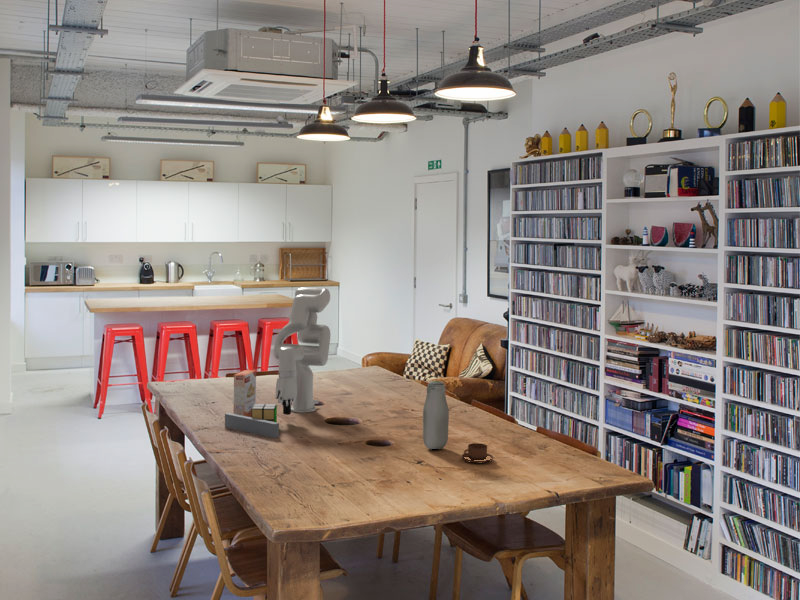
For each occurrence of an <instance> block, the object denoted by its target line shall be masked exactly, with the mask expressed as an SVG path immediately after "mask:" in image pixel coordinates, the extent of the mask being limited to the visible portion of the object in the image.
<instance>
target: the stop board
mask: <svg viewBox="0 0 800 600" xmlns="http://www.w3.org/2000/svg"><path fill="white" fill-rule="evenodd" d="M224 428H227V429H231V430H236V431H241V432H244V433H245V432H246V433H249V434H254V435H260V436H263V437H268V438H273V439H277V438H280V423H279V422H277V423H276V422H271V421H266V420H262V419H257V418H252V417H251V416H250V417H247V416H242V415H237V414H233V413H231V412H226V413H224Z"/></svg>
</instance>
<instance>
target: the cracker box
mask: <svg viewBox="0 0 800 600" xmlns="http://www.w3.org/2000/svg"><path fill="white" fill-rule="evenodd" d="M256 391H257V370H253V369H252V370H251V369H245V370H241V371H240V372H238V373H234V374H233V410H232V411H233V414H237V415H242V416H247V417H251V409H252V407H253V406H254V404H257V403H256V400H257V398H256V397H257V395H256V394H257V392H256Z"/></svg>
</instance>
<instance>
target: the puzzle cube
mask: <svg viewBox="0 0 800 600" xmlns="http://www.w3.org/2000/svg"><path fill="white" fill-rule="evenodd" d="M277 411H278V405H277V403H256V404H254V406H253V407H252V409H251V416H250V417H252V418H257V419H262V420H266V421H271V422H276V423H278V420H277V418H278V416H277V414H278V412H277Z"/></svg>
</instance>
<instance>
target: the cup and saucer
mask: <svg viewBox="0 0 800 600" xmlns="http://www.w3.org/2000/svg"><path fill="white" fill-rule="evenodd" d="M487 456H490V457H491V458H492V459H490V460H491V461H493V458H494V456H493V455H492V454H490V453H488V445H487V444H485V443H477V442H476V443H475V442H474V443H469V444H468V445H467V449H465V450H464V451H463V454H462V455H461V459H463V460H464V461H465V460H466V461H465V462H467V461H470V462H469V463H471V462H487V461H490V460H486V461H474V460H484V459H486V457H487ZM464 457H469V458H470V459H471V460H468V459H465V458H464ZM491 461H490V462H491ZM487 463H488V462H487Z"/></svg>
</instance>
